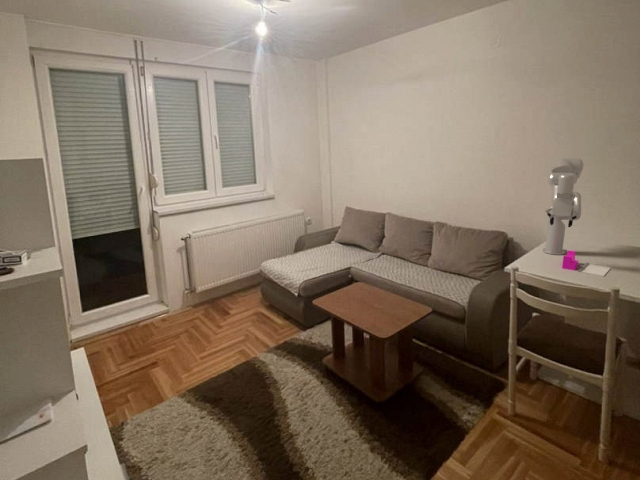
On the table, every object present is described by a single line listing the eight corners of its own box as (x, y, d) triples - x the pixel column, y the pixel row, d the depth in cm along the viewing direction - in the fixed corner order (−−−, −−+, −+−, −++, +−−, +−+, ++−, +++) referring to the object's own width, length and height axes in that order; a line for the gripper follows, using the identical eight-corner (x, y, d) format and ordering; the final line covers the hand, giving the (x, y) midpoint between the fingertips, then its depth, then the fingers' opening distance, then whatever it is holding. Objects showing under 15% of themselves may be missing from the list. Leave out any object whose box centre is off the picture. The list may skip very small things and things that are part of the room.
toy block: (574, 270, 212) (576, 258, 210) (561, 268, 216) (563, 256, 214) (579, 264, 223) (580, 252, 221) (566, 262, 227) (568, 250, 225)
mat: (586, 264, 222) (586, 262, 221) (610, 268, 214) (611, 266, 213) (578, 271, 210) (578, 269, 209) (603, 276, 202) (603, 274, 201)
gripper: (584, 196, 212) (579, 226, 216) (549, 194, 224) (546, 222, 228) (580, 198, 207) (576, 228, 211) (545, 195, 219) (541, 224, 223)
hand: (560, 225), depth 220 cm, fingers open, 8 cm apart
